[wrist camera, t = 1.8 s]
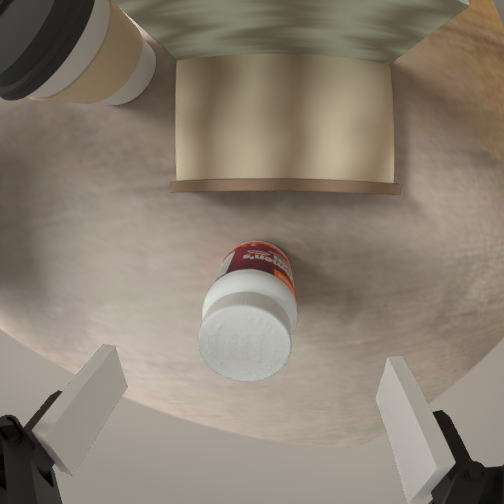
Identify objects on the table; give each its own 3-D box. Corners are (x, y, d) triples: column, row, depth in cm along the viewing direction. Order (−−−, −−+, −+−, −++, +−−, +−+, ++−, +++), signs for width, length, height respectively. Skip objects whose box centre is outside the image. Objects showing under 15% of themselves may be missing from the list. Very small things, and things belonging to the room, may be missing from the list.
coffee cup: (185, 76, 22) (92, -2, 7) (105, 136, 24) (-25, 132, 9) (143, 14, 20) (56, -64, 5) (72, 71, 22) (-39, 40, 7)
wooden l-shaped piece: (184, 188, 25) (92, 220, 11) (183, 52, 21) (107, -28, 8) (384, 190, 23) (487, 224, 10) (380, 55, 20) (462, -16, 6)
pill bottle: (303, 257, 26) (324, 324, 15) (272, 314, 27) (270, 401, 17) (238, 226, 25) (212, 275, 14) (210, 287, 27) (174, 363, 16)
